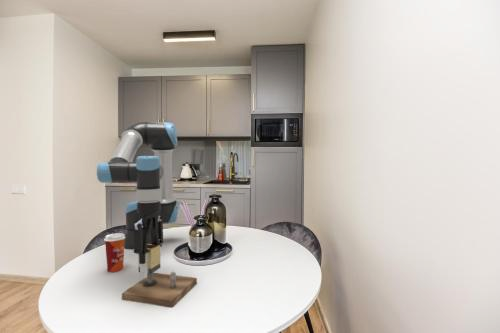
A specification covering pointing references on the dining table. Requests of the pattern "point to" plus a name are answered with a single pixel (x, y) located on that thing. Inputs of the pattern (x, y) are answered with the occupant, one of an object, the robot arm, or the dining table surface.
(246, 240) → the dining table surface
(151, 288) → the pin board
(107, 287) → the dining table surface
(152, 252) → the sleeve
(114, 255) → the paper cup
